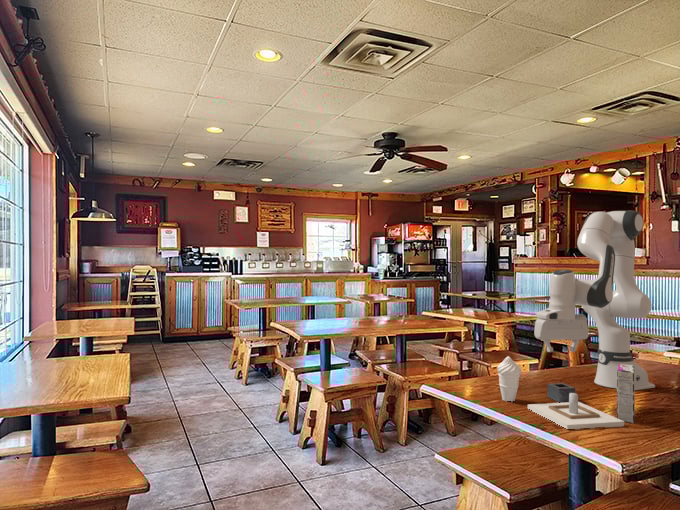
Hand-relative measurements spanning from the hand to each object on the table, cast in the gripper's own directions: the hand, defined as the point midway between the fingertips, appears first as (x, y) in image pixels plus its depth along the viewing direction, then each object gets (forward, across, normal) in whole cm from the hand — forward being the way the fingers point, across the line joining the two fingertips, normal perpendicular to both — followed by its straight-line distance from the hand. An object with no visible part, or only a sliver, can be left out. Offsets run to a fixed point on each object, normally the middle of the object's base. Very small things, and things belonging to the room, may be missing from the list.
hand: (561, 351), depth 172 cm
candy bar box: (+18, -8, +21) cm, 29 cm away
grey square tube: (+18, 0, 0) cm, 18 cm away
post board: (+18, +9, +18) cm, 27 cm away
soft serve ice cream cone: (+18, +20, -2) cm, 27 cm away
